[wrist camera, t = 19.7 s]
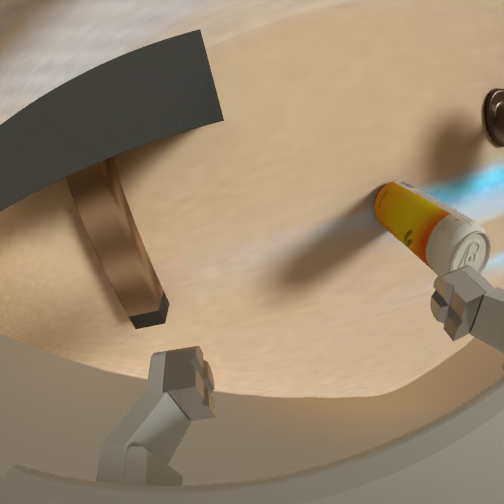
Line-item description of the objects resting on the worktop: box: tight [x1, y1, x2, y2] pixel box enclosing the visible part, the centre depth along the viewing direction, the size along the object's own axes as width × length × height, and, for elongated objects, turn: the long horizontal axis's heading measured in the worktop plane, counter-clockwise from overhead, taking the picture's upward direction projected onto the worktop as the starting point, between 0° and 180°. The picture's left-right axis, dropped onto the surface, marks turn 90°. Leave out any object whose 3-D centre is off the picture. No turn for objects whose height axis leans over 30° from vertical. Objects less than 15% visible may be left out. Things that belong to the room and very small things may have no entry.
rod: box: [66, 157, 169, 329], centre depth 30 cm, size 20×4×4 cm, turn 13°
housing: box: [0, 30, 224, 211], centre depth 21 cm, size 6×29×13 cm, turn 103°
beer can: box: [374, 181, 490, 276], centre depth 27 cm, size 6×6×15 cm
